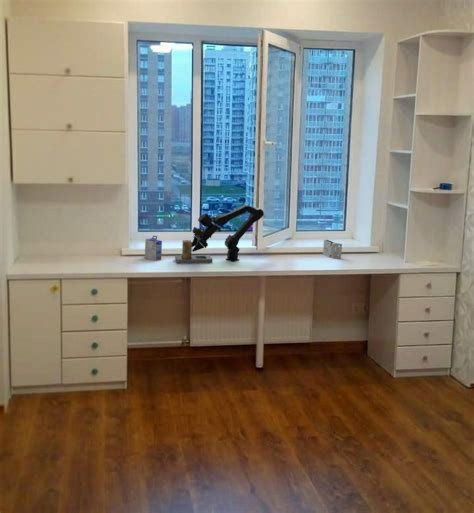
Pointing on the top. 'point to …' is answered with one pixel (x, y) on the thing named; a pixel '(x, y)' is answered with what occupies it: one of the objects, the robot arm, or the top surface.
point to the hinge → (332, 249)
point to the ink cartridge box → (153, 248)
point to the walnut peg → (186, 249)
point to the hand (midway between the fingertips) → (191, 249)
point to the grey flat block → (194, 259)
